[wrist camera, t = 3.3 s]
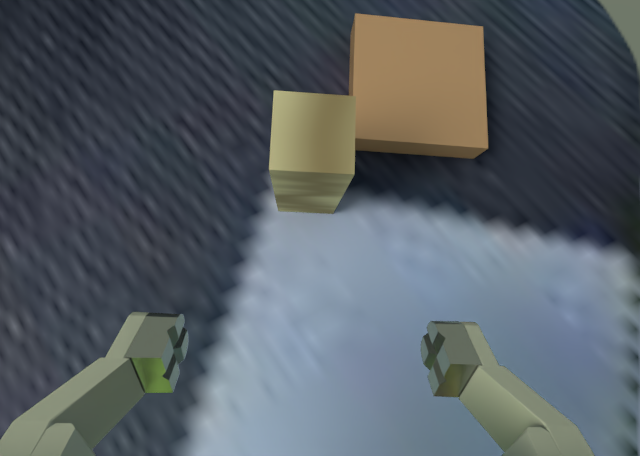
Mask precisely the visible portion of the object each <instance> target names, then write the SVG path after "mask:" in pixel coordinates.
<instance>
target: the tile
mask: <svg viewBox="0 0 640 456" xmlns="http://www.w3.org/2000/svg"><path fill="white" fill-rule="evenodd" d="M349 96H356V118H355V150H360V151H374V152H387V153H401V154H415V155H429V156H443V157H456V158H470V159H474V158H475V157H477V156H478V155H480V154H481V153H482V152H484V151H485V150H487V149H488V130H487V107H486V84H485V62H484V39H483V27H482V26H472V25H463V24H453V23H443V22H433V21H424V20H414V19H404V18H394V17H385V16H375V15H365V14H355V17H354V22H353V26H352V31H351V43H350V74H349Z"/></svg>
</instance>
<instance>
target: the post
mask: <svg viewBox="0 0 640 456" xmlns="http://www.w3.org/2000/svg"><path fill="white" fill-rule="evenodd" d="M355 118H356V96H345V95H331V94H317V93H303V92H289V91H275V90H274V96H273V113H272V129H271V145H270V162H269V172H270V176H271V181H272V185H273V189H274V194H275V198H276V203H277V207H278V211H285V212H306V213H327V214H333V213H334V211H335V209H336V208H337V206H338V204H339V202H340V200H341V198H342V197H343V195H344V193H345V191H346V189H347V187H348V186H349V184H350V182H351V180H352V178H353V176H354V175H355Z"/></svg>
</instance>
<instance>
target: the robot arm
mask: <svg viewBox="0 0 640 456" xmlns="http://www.w3.org/2000/svg"><path fill="white" fill-rule="evenodd" d="M184 322H185V320H184V316H183V314H167V313H148V312H132V313H131V314H130V315H129V316H128V318H127V320H126V321H125V323H124V325H123V327H122V328H121V330H120V332H119V334H118V336H117V337H116V339H115V341H114V343H113V345H112V346H111V348H110V350H109V352H108V353H107V355H106V357H105V358H99V359H98V360H96V361H95V362H94V363H92V364H91V365H89V366H88V367H87V368H85V369H84V370H83V371H81V372H80V373H78V374H77V375H76V376H74V377H73V378H72V379H70V380H69V381H68V382H66V383H65V384H63V385H62V386H61V387H59V388H58V389H57V390H55V391H54V392H52V393H51V394H50V395H48V396H47V397H46V398H44V399H43V400H42V401H40V402H39V403H37V404H36V405H35V406H33V407H32V408H31V409H29V410H28V411H26V412H25V413H24V414H22V415H21V416H20V417H18V418H17V419H16V420H14V421H13V422H12V424H11V425H10V427H9V428H8V430H7V431H6V432H5V434H4V435H3V437H2V438H1V440H0V456H96V455H95V453H94V452H93V451H92V449H93V448H94V447H95V446H96V445H97V444H98V443H99V442H100V441H101V439H102V438H103V437H104V436H105V435H106V434H107V433H108V432H109V431H110V430H111V429H112V428H113V427H114V426H115V425H116V424H117V423H118V422H119V421H120V420H121V419H122V418H123V417H124V416H125V414H126V413H127V412H128V411H129V410H130V409H131V408H132V407H133V406H134V405H135V404H136V403H137V402H138V401H139V400H140V399H141V398H142V397H143V396H144V393H170V392H173V391H174V388H175V385H176V382H177V379H178V376H179V373H180V371H179V368H178V364H179V363H181V362H182V361H183V360H184V358H185V355H186V352H187V347H188V332H187V330H186V329H185V328H184V327H183V325H184ZM427 331H428V333H427V334H426V335H424V336H423V338H422V341H421V356H422V360H423V364H424V365H425V366H426V367H427V368H428V369H429V370H430V372H429V374H428V380H429V383H430V386H431V389H432V393H433V396H442V397H459V400H460V401H461V402H462V403H463V404H464V405H465V407H466V408H467V409H468V410H469V411H470V412H471V414H472V415H473V416H474V417H475V418H476V419H477V421H478V422H479V423H480V424H481V425H482V426H483V428H484V429H485V430H486V431H487V432H488V433H489V435H490V436H491V437H492V438H493V439H494V440H495V442H496V443H497V444H498V445H499V446H500V447H501V449H502V450H503V451H504V452H505V453H504V454H503V455H502V456H595V455H594V453H593V452H592V450H591V449H590V447H589V445H588V444H587V442H586V440H585V439H584V437H583V436H582V434H581V432H580V431H579V429H578V427H577V426H576V425H575V424H573V423H572V422H571V421H570V420H569V419H567V418H566V417H565V416H564V415H562V414H561V413H560V412H559V411H558V410H556V409H555V408H554V407H553V406H552V405H550V404H549V403H548V402H547V401H546V400H544V399H543V398H542V397H541V396H539V395H538V394H537V393H536V392H535V391H533V390H532V389H531V388H530V387H529V386H527V385H526V384H525V383H524V382H523V381H521V380H520V379H519V378H518V377H516V376H515V375H514V374H513V373H512V372H510V371H509V370H508V369H507V368H506V367H504V366H499V364H498V362H497V360H496V358H495V356H494V354H493V352H492V351H491V349H490V347H489V345H488V343H487V341H486V339H485V337H484V335H483V333H482V331H481V329H480V327H479V325H478V324H477V323H476V322H459V321H431V322H429V324H428V326H427Z"/></svg>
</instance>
